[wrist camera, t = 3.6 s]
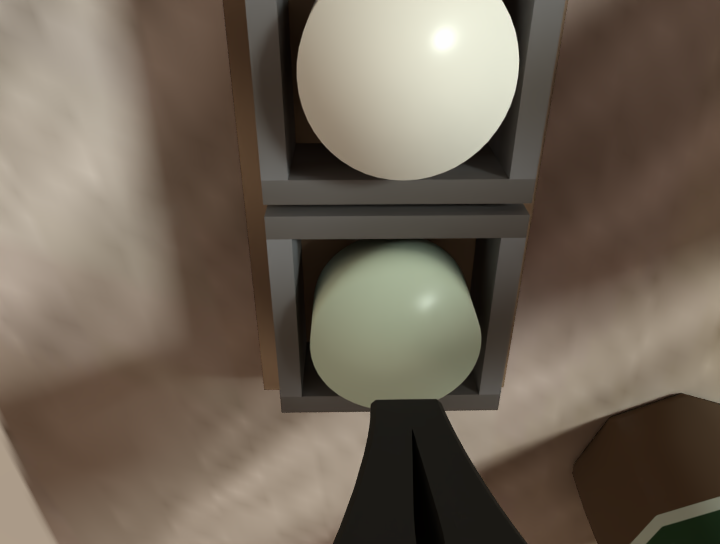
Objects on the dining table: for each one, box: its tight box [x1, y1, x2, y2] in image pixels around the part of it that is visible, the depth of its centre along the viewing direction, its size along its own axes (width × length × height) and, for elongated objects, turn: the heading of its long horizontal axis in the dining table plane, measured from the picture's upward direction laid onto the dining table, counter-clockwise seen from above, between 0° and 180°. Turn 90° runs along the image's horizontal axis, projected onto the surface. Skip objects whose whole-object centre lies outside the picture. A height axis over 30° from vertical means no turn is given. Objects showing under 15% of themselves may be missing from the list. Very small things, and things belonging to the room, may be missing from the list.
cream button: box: [297, 0, 519, 180], centre depth 12 cm, size 4×4×2 cm
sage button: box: [310, 239, 481, 408], centre depth 16 cm, size 4×4×2 cm
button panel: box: [223, 0, 568, 413], centre depth 14 cm, size 22×8×4 cm, turn 0°
